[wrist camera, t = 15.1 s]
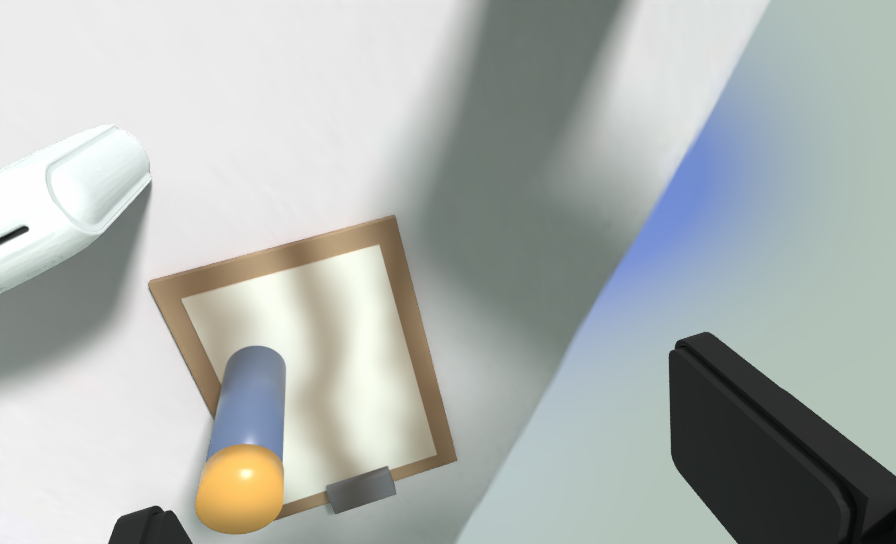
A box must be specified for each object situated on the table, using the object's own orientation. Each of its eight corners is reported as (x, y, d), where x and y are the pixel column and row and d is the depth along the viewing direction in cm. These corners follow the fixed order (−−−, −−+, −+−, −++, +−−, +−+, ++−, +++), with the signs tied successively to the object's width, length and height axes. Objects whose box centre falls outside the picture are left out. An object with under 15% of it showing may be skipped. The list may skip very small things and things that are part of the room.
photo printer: (8, 253, 34) (-135, 370, 23) (-49, 190, 32) (-235, 284, 21) (167, 178, 34) (103, 257, 23) (121, 110, 32) (27, 161, 21)
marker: (276, 337, 39) (267, 460, 28) (295, 385, 41) (294, 518, 30) (214, 354, 38) (181, 487, 28) (236, 402, 40) (213, 544, 30)
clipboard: (394, 215, 38) (397, 222, 37) (456, 459, 48) (461, 472, 47) (150, 280, 36) (143, 291, 35) (267, 520, 46) (266, 536, 45)
